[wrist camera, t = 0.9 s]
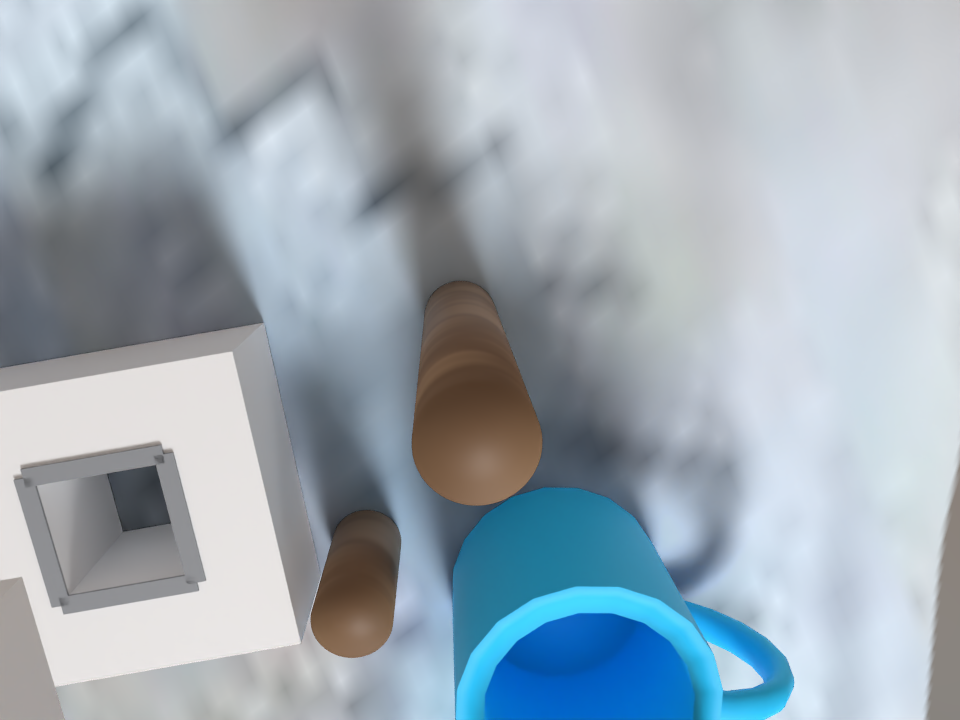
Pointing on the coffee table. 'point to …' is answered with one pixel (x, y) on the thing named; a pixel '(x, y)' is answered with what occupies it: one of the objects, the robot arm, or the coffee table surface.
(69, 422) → the hole block
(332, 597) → the short dowel
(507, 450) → the long dowel
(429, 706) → the coffee table surface
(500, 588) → the mug
